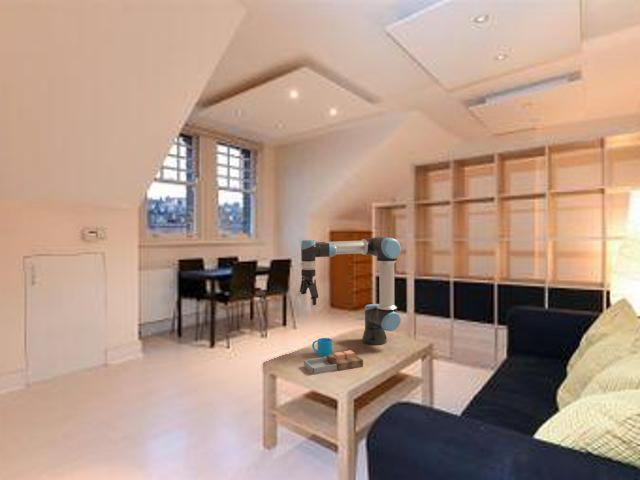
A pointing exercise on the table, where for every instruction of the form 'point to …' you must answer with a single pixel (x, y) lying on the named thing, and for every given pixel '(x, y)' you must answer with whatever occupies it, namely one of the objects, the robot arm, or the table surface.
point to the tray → (319, 365)
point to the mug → (323, 347)
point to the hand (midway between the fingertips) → (308, 308)
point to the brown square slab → (345, 362)
